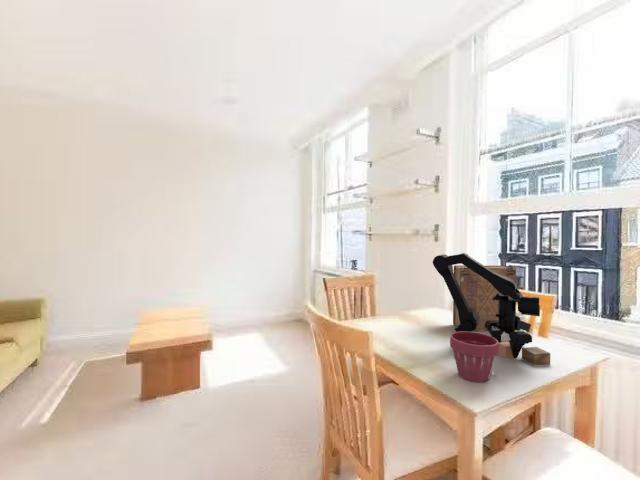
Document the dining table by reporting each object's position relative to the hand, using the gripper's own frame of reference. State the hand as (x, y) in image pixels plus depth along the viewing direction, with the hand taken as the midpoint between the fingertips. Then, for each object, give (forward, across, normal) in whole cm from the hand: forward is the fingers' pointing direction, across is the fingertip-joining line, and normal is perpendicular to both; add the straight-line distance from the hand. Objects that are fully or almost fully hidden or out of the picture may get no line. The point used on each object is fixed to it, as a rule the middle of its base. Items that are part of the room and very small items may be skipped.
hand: (506, 353), depth 121 cm
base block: (0, -7, -6) cm, 9 cm away
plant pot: (+1, -14, +22) cm, 26 cm away
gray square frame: (+1, -7, -6) cm, 9 cm away
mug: (+1, +12, -12) cm, 17 cm away
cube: (+1, 0, 0) cm, 1 cm away
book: (+1, +33, -12) cm, 35 cm away
